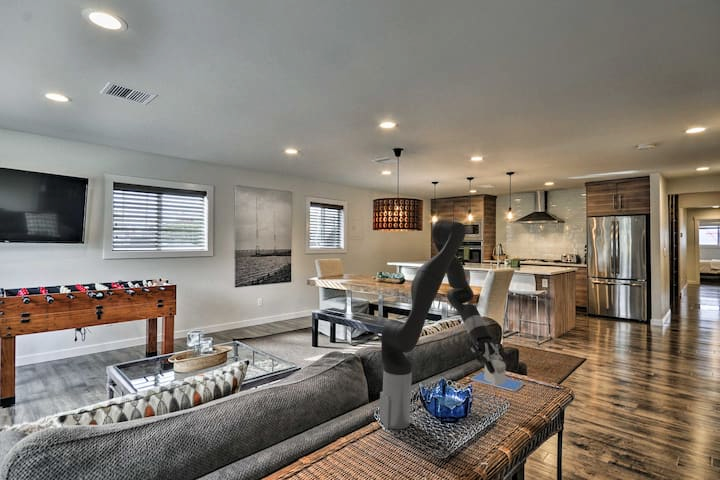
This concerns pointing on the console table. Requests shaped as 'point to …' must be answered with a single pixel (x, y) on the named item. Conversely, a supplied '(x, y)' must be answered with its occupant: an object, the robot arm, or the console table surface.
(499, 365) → the cylinder
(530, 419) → the console table surface
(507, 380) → the tablet computer
